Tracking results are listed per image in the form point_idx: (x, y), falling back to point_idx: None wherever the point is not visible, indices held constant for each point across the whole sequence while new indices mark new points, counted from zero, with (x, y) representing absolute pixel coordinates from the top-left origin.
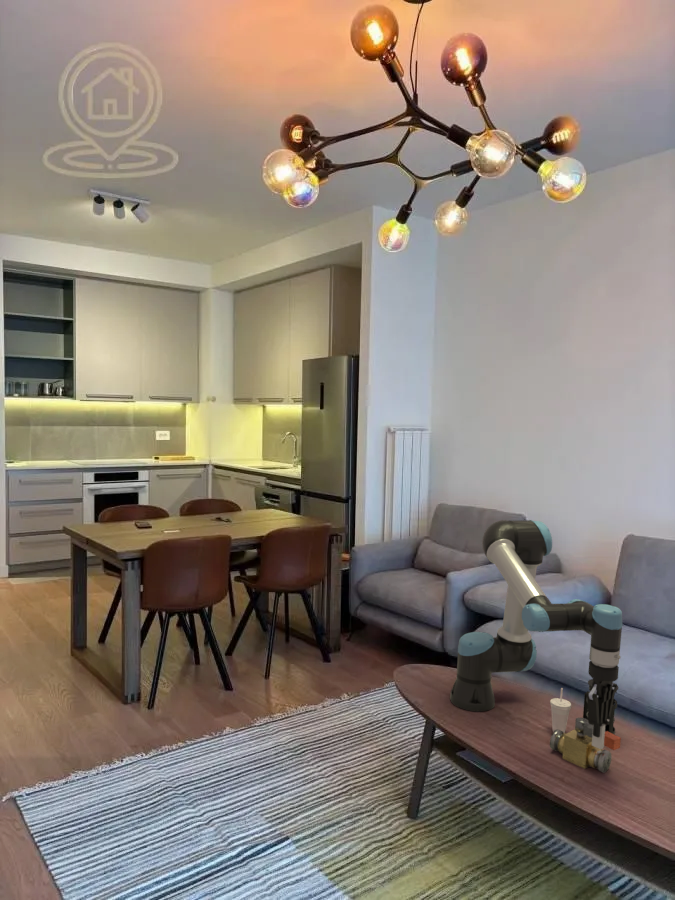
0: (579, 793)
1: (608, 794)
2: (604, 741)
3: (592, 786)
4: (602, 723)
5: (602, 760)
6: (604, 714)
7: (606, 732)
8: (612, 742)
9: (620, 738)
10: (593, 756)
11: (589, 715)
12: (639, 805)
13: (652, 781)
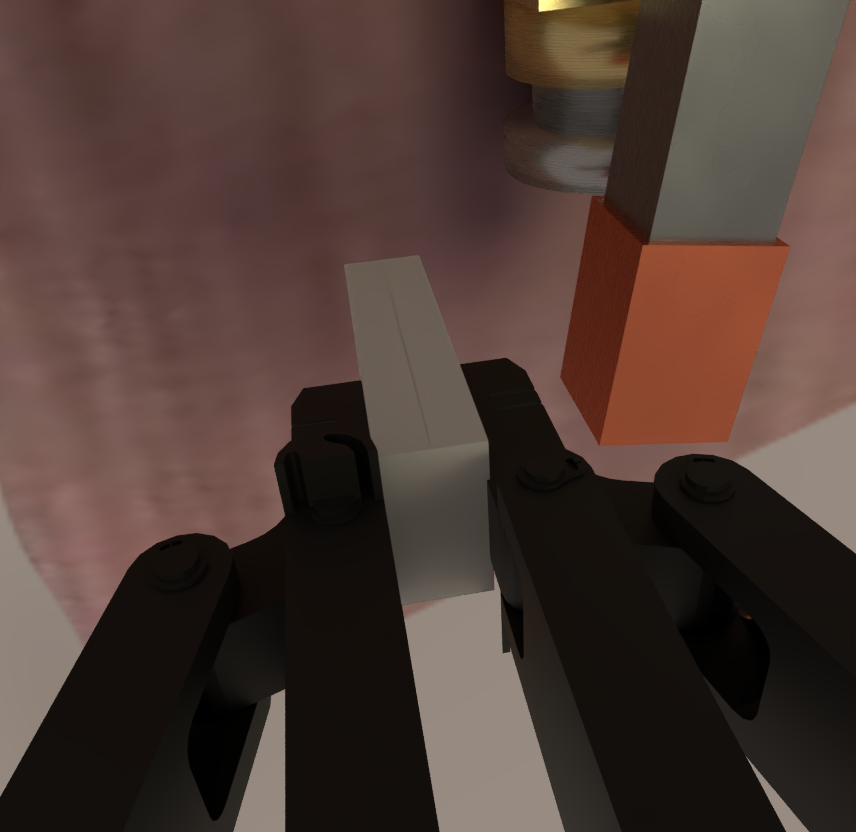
0: (64, 225)
1: (290, 344)
2: (597, 280)
3: (268, 214)
4: (490, 552)
5: (538, 183)
6: (537, 737)
7: (735, 272)
8: (589, 402)
9: (716, 438)
10: (535, 78)
11: (53, 739)
12: None
13: None
